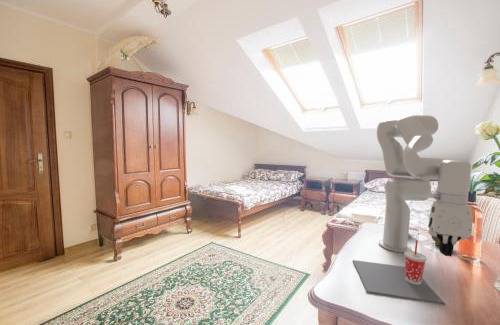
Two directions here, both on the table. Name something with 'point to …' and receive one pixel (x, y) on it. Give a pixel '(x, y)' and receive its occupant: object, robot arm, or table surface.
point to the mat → (393, 282)
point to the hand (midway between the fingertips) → (445, 254)
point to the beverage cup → (414, 266)
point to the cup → (436, 240)
